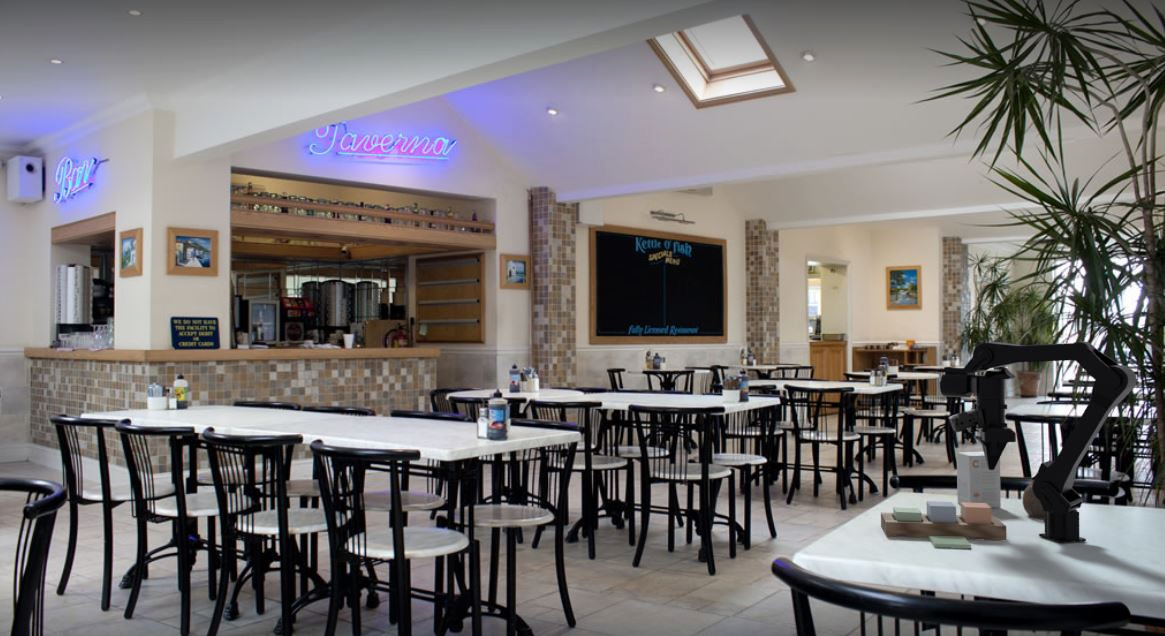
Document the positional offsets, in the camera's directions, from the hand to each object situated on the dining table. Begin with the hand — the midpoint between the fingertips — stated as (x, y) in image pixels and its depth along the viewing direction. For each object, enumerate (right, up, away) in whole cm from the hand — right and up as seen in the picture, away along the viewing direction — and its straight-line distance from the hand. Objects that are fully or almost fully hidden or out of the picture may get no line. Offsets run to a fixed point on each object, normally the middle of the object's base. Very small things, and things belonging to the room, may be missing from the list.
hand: (991, 469), depth 204 cm
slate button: (-12, -11, -4) cm, 17 cm away
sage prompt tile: (-15, -13, -13) cm, 24 cm away
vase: (+17, -13, +13) cm, 25 cm away
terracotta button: (-6, -11, -5) cm, 13 cm away
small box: (+8, -13, +25) cm, 30 cm away
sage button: (-19, -12, -2) cm, 23 cm away
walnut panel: (-12, -13, -4) cm, 18 cm away
